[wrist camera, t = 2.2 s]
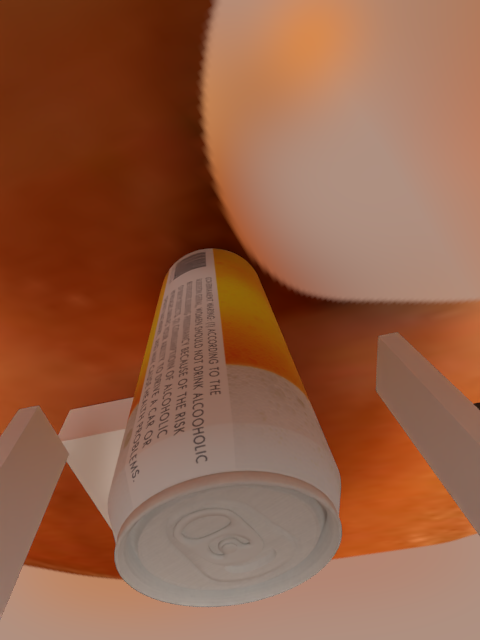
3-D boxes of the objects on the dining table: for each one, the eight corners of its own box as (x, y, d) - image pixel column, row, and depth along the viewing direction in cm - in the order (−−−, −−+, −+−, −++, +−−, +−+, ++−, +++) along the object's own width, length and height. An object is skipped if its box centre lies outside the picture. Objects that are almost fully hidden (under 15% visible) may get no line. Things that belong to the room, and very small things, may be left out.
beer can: (198, 347, 23) (197, 634, 10) (141, 278, 20) (30, 551, 7) (276, 304, 22) (391, 558, 9) (227, 224, 19) (290, 422, 6)
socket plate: (70, 409, 24) (49, 453, 21) (285, 366, 24) (298, 403, 21) (139, 528, 32) (132, 573, 29) (300, 495, 32) (312, 536, 29)
